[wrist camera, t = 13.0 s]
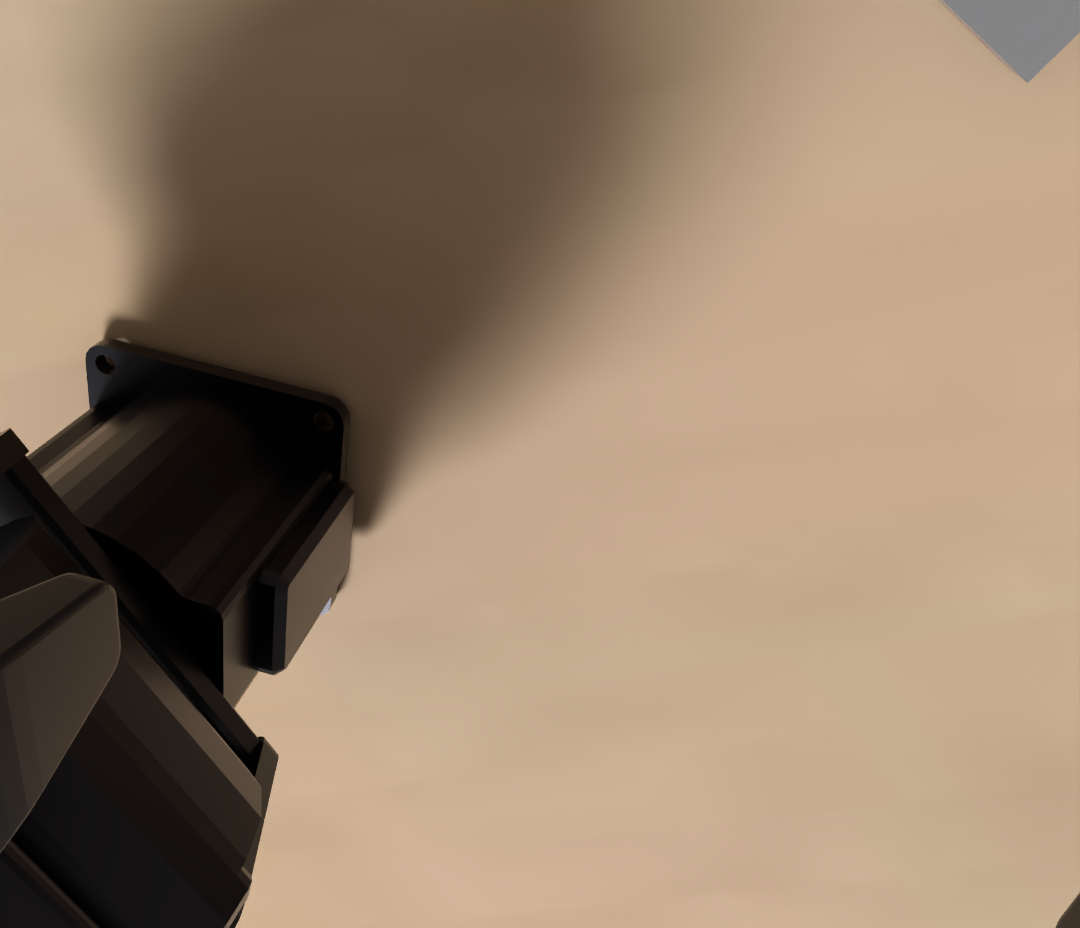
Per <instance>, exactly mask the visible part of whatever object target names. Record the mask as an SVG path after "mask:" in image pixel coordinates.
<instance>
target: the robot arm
mask: <svg viewBox="0 0 1080 928" xmlns="http://www.w3.org/2000/svg"><path fill="white" fill-rule="evenodd" d="M105 356H107V357H109V358H110V359H111V360H112V361H113V362H114V365H115V367H113V366H111V365H110V364H109V363H108V362H107V361H106V358H105ZM86 370H87V381H88V393H89V404H90V410H88V411H87V412H86V413H84V414H83V415H82V416H80V417H79V418H78V419H76V420H75V421H74V422H72V423H71V424H70V425H68V426H67V427H66V428H64V429H63V430H62V431H60V432H59V433H58V434H56V435H55V436H54V437H52V438H51V439H50V440H49V441H47V442H46V443H45V444H43V445H42V446H41V447H39V448H38V449H37V450H35V451H34V452H33V453H31V454H30V455H29V456H27V457H26V455H25V454H27V453H28V452H29V450H28V449H27V448H26V447H25V445H24V444H23V443H22V442H21V440H20V439H19V438H18V437H17V436H16V434H15V433H14V432H13V431H12V430H11V428H9V429H7V430H5V431H3V432H1V433H0V928H235V926H236V924H237V923H238V921H239V919H240V916H241V913H242V910H243V907H244V904H245V901H246V900H247V898H248V895H249V891H250V887H251V883H252V877H251V876H252V872H253V867H254V863H255V858H256V854H257V850H258V845H259V841H260V836H261V832H262V828H263V823H264V819H265V814H266V810H267V806H268V801H269V797H270V792H271V788H272V784H273V779H274V775H275V770H276V766H277V762H278V754H277V753H276V751H275V750H274V749H273V748H272V746H271V745H270V744H269V743H268V742H267V740H266V739H265V738H264V737H257V736H256V735H255V733H254V732H253V731H252V730H251V729H250V727H249V726H248V725H247V724H246V723H245V721H244V720H243V719H242V718H241V716H240V715H239V714H238V713H237V712H236V710H235V709H234V708H235V707H236V705H237V704H238V702H239V701H240V699H241V697H242V696H243V694H244V693H245V691H246V690H247V688H248V687H249V685H250V684H251V682H252V681H253V679H254V678H255V676H256V675H257V673H258V672H259V671H260V672H264V673H267V674H271V675H276V674H278V673H279V672H281V671H283V670H284V669H286V668H287V666H288V664H289V663H290V661H291V660H292V658H293V657H294V655H295V653H296V652H297V650H298V649H299V647H300V645H301V644H302V642H303V641H304V639H305V637H306V636H307V634H308V633H309V631H310V629H311V628H312V626H313V625H314V623H315V622H316V620H317V618H318V617H319V615H323V614H325V613H326V612H328V611H329V609H330V608H331V606H332V605H333V603H334V601H335V599H336V594H337V587H338V585H339V583H340V582H341V580H342V579H343V577H344V575H345V574H346V572H347V571H348V568H349V559H350V547H351V535H352V524H353V512H354V500H355V492H354V490H353V489H352V487H351V485H350V483H349V482H345V479H346V466H347V453H348V440H349V427H350V415H349V411H348V409H347V407H346V405H345V404H344V403H343V402H342V401H340V400H339V399H338V398H335V397H333V396H330V395H327V394H323V393H319V392H315V391H311V390H307V389H303V388H299V387H296V386H292V385H288V384H284V383H280V382H276V381H272V380H268V379H265V378H261V377H257V376H253V375H249V374H245V373H241V372H238V371H234V370H230V369H226V368H222V367H218V366H214V365H210V364H207V363H203V362H199V361H195V360H191V359H187V358H183V357H179V356H176V355H172V354H168V353H164V352H160V351H156V350H152V349H148V348H145V347H141V346H137V345H133V344H129V343H125V342H121V341H117V340H114V339H105V340H102V341H100V342H98V343H97V344H95V345H94V346H92V347H91V348H90V349H89V350H88V352H87V353H86ZM320 412H325V413H327V414H329V415H330V416H331V418H332V419H333V422H334V424H331V423H328V422H326V421H324V420H323V418H322V417H321V415H320ZM1056 928H1080V893H1079V894H1078V896H1077V897H1076V898H1075V900H1074V901H1073V902H1072V903H1071V905H1070V906H1069V907H1068V909H1067V910H1066V911H1065V912H1064V914H1063V915H1062V916H1061V918H1060V919H1059V921H1058V923H1057V926H1056Z"/></svg>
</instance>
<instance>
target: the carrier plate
mask: <svg viewBox="0 0 1080 928" xmlns="http://www.w3.org/2000/svg"><path fill="white" fill-rule="evenodd" d="M940 1H941V2H942V3H943V4H944V5H945V6H946V7H947V8H948V9H949V10H950V11H951V12H952V13H953V14H954V15H955V16H956V17H957V18H958V19H959V20H960V21H961V22H962V23H963V24H964V25H965V26H966V27H967V28H968V29H969V30H971V31H972V32H973V33H974V34H975V35H976V36H977V37H978V38H979V39H980V40H981V41H982V42H983V43H984V44H985V45H986V46H987V47H988V48H989V49H990V50H991V51H992V52H993V53H994V54H995V55H996V56H997V57H998V58H999V59H1000V60H1001V61H1002V62H1003V63H1004V64H1006V65H1007V66H1008V67H1009V68H1010V69H1011V70H1012V71H1013V72H1014V73H1015V74H1016V75H1018V76H1019V77H1020V78H1022V79H1023V80H1024V81H1026V82H1027V83H1028V82H1029V81H1030V80H1031V79H1032V78H1033V77H1034V76H1035V75H1036V74H1037V73H1038V72H1039V71H1040V70H1041V69H1042V68H1043V67H1044V66H1045V65H1046V64H1047V63H1048V62H1050V61H1051V60H1052V59H1053V58H1054V57H1055V56H1056V55H1057V54H1058V53H1059V52H1060V51H1061V50H1062V49H1063V48H1064V47H1065V46H1066V45H1067V44H1068V43H1069V42H1070V41H1071V40H1072V39H1073V38H1074V37H1075V36H1076V35H1077V34H1078V33H1080V0H940Z"/></svg>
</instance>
